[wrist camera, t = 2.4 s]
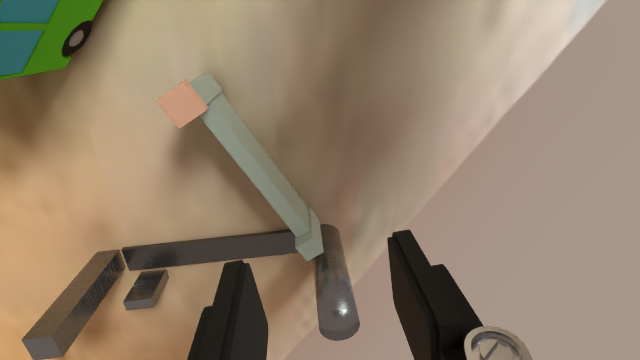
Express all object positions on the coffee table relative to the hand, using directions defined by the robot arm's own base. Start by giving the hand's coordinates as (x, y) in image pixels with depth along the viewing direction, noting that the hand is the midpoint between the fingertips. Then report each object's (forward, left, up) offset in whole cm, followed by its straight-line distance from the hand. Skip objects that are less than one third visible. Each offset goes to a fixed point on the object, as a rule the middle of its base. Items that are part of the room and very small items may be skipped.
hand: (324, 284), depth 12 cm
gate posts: (+9, +12, -19) cm, 24 cm away
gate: (+4, +2, -19) cm, 19 cm away
